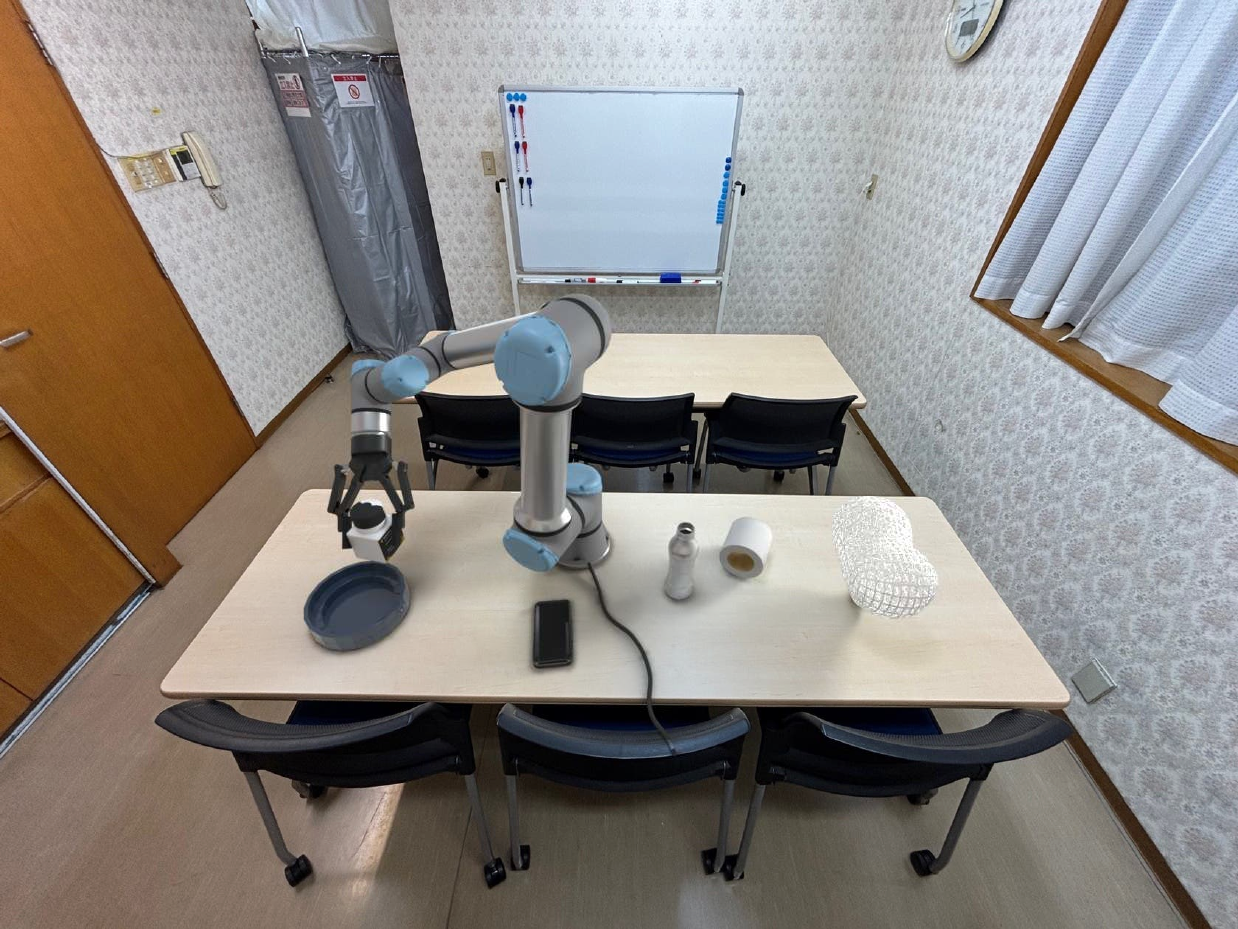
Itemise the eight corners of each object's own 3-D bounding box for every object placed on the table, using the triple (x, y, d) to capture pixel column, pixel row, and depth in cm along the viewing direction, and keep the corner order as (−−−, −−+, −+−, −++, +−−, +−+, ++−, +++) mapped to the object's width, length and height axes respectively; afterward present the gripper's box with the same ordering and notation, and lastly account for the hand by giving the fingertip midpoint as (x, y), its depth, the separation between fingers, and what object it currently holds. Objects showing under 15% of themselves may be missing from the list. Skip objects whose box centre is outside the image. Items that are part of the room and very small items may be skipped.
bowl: (426, 611, 109) (421, 597, 106) (333, 670, 98) (324, 656, 95) (386, 561, 120) (380, 547, 117) (298, 609, 109) (289, 595, 106)
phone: (532, 665, 98) (534, 601, 110) (533, 668, 99) (535, 604, 111) (573, 661, 99) (571, 598, 111) (573, 664, 100) (571, 602, 112)
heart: (917, 660, 101) (964, 589, 88) (837, 653, 102) (872, 582, 89) (874, 555, 123) (907, 485, 110) (809, 550, 125) (834, 481, 111)
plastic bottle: (696, 585, 116) (706, 522, 103) (686, 608, 111) (696, 544, 99) (669, 576, 118) (676, 513, 106) (659, 597, 113) (665, 534, 101)
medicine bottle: (387, 564, 103) (370, 521, 96) (356, 558, 104) (336, 516, 97) (406, 539, 109) (391, 497, 101) (376, 534, 110) (359, 492, 102)
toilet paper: (728, 541, 127) (734, 511, 121) (768, 554, 123) (776, 524, 117) (716, 569, 120) (722, 539, 113) (758, 583, 116) (767, 554, 110)
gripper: (430, 437, 109) (432, 543, 106) (325, 441, 107) (324, 550, 104) (419, 430, 101) (421, 544, 99) (306, 435, 99) (305, 551, 97)
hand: (371, 547), depth 101 cm, fingers closed on medicine bottle, 9 cm apart
